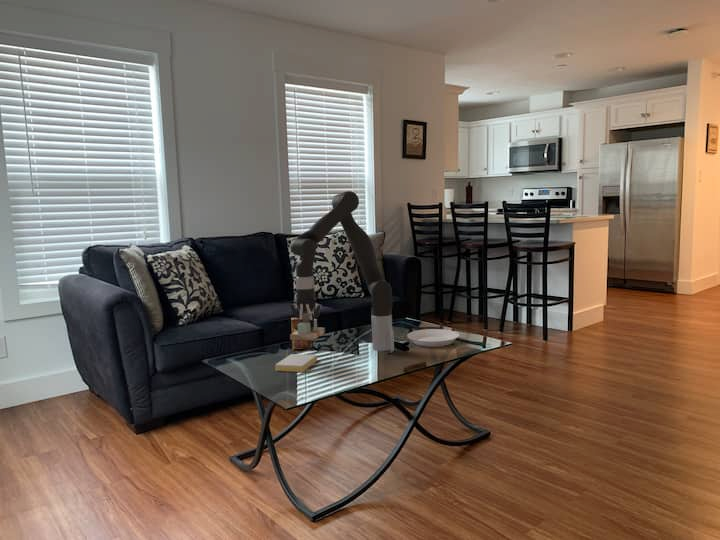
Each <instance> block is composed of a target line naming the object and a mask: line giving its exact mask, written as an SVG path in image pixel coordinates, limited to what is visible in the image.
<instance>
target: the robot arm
mask: <svg viewBox="0 0 720 540" xmlns="http://www.w3.org/2000/svg"><path fill="white" fill-rule="evenodd" d="M359 203H360V200H359V196H358V195H357V194H356V193H355V192H354V191H351V190H350V191H349V190H348V191H343V192H341V193H338V194H335V195H334V196H333V197H332V199H331V206H332V209H331V210H330V211H328V212H327V213H326V214H324V215H322V217H320V218H319V219H318V220H316V222H314V224H312V226H311V227H309V229H308V230H307V231H305V232H303V233H301V235H298V236H297V237H296V238H295V239H294V240H293V241H292V243H291V244H290V245H291V246H290V249H291V252H292V254H293V255H294V256H298V257H301V261H299V262H297V263H296V264H295V272H296V273H295V275H296V276H295V278H296V280H295V288H296V289H295V290H296V302H295V303H292V304H291V305H290V309H291V311H292V313H293V315H294V318H299V319H300V323H301V322H303V321H302V313H303V312H305V311H306V312H308V315H309V318H310V327H311V329H312V328H313V327H314V319H317V318H319V316H320V313H321V310H322V307H323V304H322V303H321V304H319V303H317V301H316V292H315V291H316V290H315V277H314V263H315V258H316V252H317V247H316V244H319V243H320V242H322V241H323V240H324V238H325V237H326V236H328V235H329V234H330V232H331V231H332V230H333V229H334V228H335V227H337V225H338V224H339V223H340V225H341V227H342V228H343V231H344V232H345V233H344V234H345V236H346V238H347V240H348V242H349V246H350V247H351V250H352V252H353V254H354V255H353V256H354V257H355V259H356V262H357V263H358V265H359V267H360V269H361V271H362V272H363V275H364V278H365V281H366V285H367V289H368V291H369V294H370V295H371V303H372V306H371V309H370V314H371V318H370V320H371V334H372V335H371V337H372V339H371V340H372V351H375V352H387V354H392V353H393V352H394V351H395V337H394V329H393V315H392V310H393V289H392V286H391V284H390V282H388V281H386V279H385V278H384V277H383V275H382V273H381V270H380V268H379V266H378V261H377V254H376V250H375V248H374V245H373V243H372V241H371V238H370V237H369V235H368V233H367V232H366V231H365V230H364V229H363V228H362V227H361V226H360V225H359V224H358V223H357V222H356V220H355V218H354V217H353V214H352V213H353V212H354V211H356V210H357V208H359ZM314 308H315V310H314ZM298 309H299V310H298ZM314 311H315V312H314Z"/></svg>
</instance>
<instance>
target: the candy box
mask: <svg viewBox="0 0 720 540" xmlns="http://www.w3.org/2000/svg"><path fill="white" fill-rule="evenodd" d="M290 319H291V320H290V321H291V322H290V323H291V334H292V333H294V332H295V331H297V330H298V324H299V323H300V319H299V318H296V317H291V318H290ZM291 342H292V350H293V349H303V348H307V349H312V340H292V341H291Z"/></svg>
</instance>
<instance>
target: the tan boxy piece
mask: <svg viewBox="0 0 720 540" xmlns="http://www.w3.org/2000/svg"><path fill="white" fill-rule="evenodd" d="M302 321H303V322H306V323H310V318H309V315H308V312H307V311H305V312H303V313H302ZM325 333H326V328H325V327H318V326H317V329H315V330H312V329H311V332H310V333H309V334H298V330H297V331H295V332H294V333H292V332H291V334H289V339H290V340H311V341H314V340H316V339H318V338H319V337H320V336H322V335H323V334H325Z"/></svg>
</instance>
